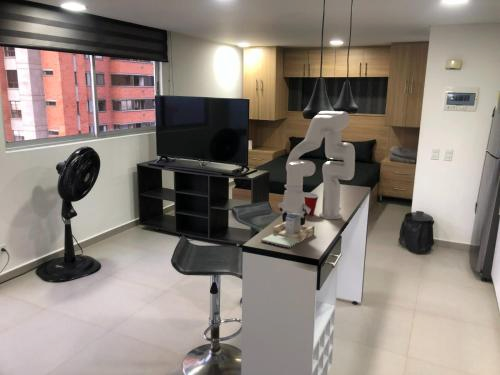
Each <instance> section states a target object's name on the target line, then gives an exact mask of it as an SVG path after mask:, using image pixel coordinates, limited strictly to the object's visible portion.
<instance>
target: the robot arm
mask: <svg viewBox="0 0 500 375" xmlns="http://www.w3.org/2000/svg"><path fill="white" fill-rule="evenodd" d="M349 124H350V114H349V112H347V111H341V110H339V111H338V110H335V111H334V110H321V111H319V112H317V114H316V115H314V117H313V118H311V122H310V124H309V127H308V129H307V131H306V134H305V138H304V139H303V140H302V141H301V142H300V143H298V144H297V145H296V146H294V147H293V149H292V150H291V151H290V152H289V155H288V157H287V161H286V163H285V164H286V165H285V170H286V184H284V188H285V189H286V190H284V193H283V199H282V202H280V203H278V204H277V206H278V208H279V211H280V212H281V215H282V216H281V218H282V219H281V220H282V223H284V222H286V216H287V215H288V213H299V214H300V215H301V218H300V225H301V226H305V224H306V217H307V216H308V214H309V212H310V211H311V209H310V208H309V207H308V206H306V205H305V197H304V193H305V192H304V191H303V184H304V183H303V182H304V177H311V176H313V175H314V173H315V172H316V164H315V163H314V162H313V161H310V160H305V159H304V160H303V159H299V158H300V157H301V156H303V155H304V154H305V153H309V152H311V151H314V150H317V149H319V148H320V147H321V145H322V142H323V139H324V142H325V143H324V153H325V157H326V158H327V159H330V160H329V161H326V162H324V163H323V164H322V168H321V170H322V171H321V172H322V179H323V186H322V187H323V189H322V204H321V205H322V210H321V212H319V215H318V216H319V217H320V218H321V219H326V220H339V219H342V218H343V214H341V213H340V211H341V210H342V208H341V205H340V204H341V190H342V188H341V184H340V182H339V180H343V181H350V180H352V179H353V178H354V176H355V171H356V170H355V166H356V161H355V160H356V151H355V146H354V145H353V143H350V142H343V141H342V132H341V131H343V130H344V129H346V128H347V127H348V125H349ZM334 160H337V161H334ZM305 209H306V210H307V211H306V213H305V212H304V211H305Z"/></svg>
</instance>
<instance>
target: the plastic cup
mask: <svg viewBox="0 0 500 375" xmlns="http://www.w3.org/2000/svg"><path fill="white" fill-rule="evenodd" d="M304 197H305V205H306V206H308V207H309V208H310V209H311V211H310V212H309V214H308V215H307V216H314V214H315V210H316V207H317V204H318V203H317V202H318V200H319V197H320V195H319V194H317V193H313V192H304ZM306 211H307V210H306V209H305V211H304V212H305V213H306Z"/></svg>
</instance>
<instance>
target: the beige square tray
mask: <svg viewBox="0 0 500 375" xmlns="http://www.w3.org/2000/svg"><path fill="white" fill-rule="evenodd" d="M315 228H316V227H315V225H311V226H308V225H307V226H306V225H302V226H301V230H300V231H298V232H297V233H295V234H289V233H286V221H285V222H281V223H280V224H277V225H274V226H273V227H272V234H276V235H281V236H285V237H290V238H294V239H298V240H300V243H302V242H304V241H305V240H304V239H306V238H308V237H309V238H311V237H313V236H314V235H315ZM312 235H313V236H312ZM310 236H311V237H310ZM309 238H308V239H309ZM303 240H304V241H303ZM306 240H307V239H306ZM301 241H302V242H301Z"/></svg>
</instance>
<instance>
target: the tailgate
mask: <svg viewBox="0 0 500 375" xmlns="http://www.w3.org/2000/svg"><path fill="white" fill-rule="evenodd" d="M261 241H262V243H265V242H266V244H269V243H271V244H270V245H273V244H275V245H274V246H278V245H279V246H278V247H282V246H283V248H286V247H287V248H286V249H290V248H292V247H294V246H296V245H297V244H296V243H298V242H300V240H298V239H294V238H290V237H285V236H281V235H276V234H273V233H271V234H270V235H268V236H266V237H263V238H261V239H260V242H261ZM300 243H301V242H300ZM295 244H296V245H295ZM298 244H299V243H298ZM293 245H294V246H293ZM291 246H292V247H291ZM289 247H290V248H289Z"/></svg>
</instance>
